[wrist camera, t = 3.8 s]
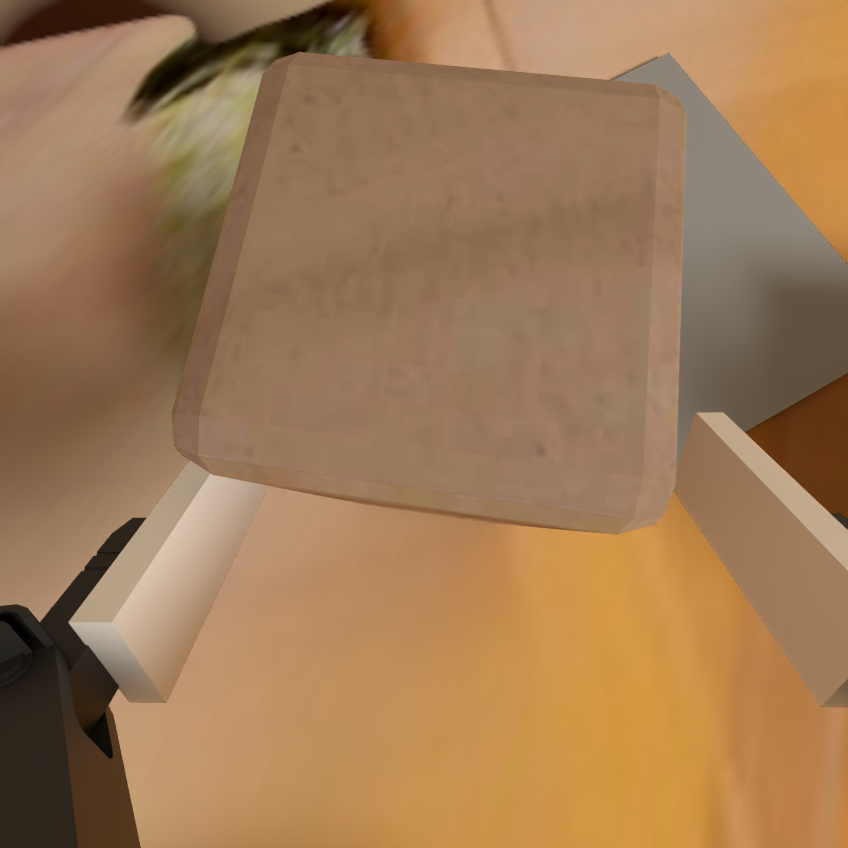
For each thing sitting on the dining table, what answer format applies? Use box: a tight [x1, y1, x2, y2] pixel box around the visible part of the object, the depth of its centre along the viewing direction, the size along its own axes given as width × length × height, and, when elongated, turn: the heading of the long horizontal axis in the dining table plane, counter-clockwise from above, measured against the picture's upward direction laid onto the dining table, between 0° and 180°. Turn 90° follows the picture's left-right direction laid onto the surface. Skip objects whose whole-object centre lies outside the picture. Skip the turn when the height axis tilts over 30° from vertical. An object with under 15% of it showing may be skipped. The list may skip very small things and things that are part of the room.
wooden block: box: [172, 52, 687, 534], centre depth 18 cm, size 10×10×20 cm
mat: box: [613, 53, 848, 467], centre depth 30 cm, size 26×22×1 cm
